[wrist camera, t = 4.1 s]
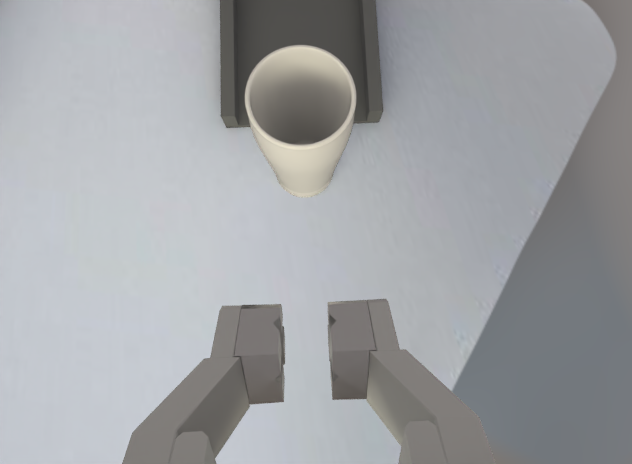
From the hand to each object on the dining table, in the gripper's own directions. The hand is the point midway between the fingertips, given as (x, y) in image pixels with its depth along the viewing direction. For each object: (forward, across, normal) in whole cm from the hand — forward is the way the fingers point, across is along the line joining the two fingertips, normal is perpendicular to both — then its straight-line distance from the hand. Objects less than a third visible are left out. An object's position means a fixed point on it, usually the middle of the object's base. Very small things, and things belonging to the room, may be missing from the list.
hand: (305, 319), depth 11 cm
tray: (+37, 0, +1) cm, 37 cm away
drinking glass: (+28, 0, +11) cm, 30 cm away
